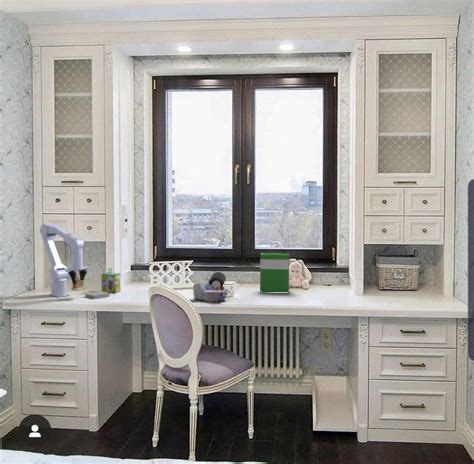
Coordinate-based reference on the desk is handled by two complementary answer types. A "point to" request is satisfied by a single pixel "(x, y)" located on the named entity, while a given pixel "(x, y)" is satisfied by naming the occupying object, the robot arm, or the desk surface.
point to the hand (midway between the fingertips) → (77, 283)
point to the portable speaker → (217, 280)
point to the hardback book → (274, 272)
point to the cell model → (209, 292)
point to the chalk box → (110, 282)
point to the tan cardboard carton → (78, 286)
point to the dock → (97, 295)
